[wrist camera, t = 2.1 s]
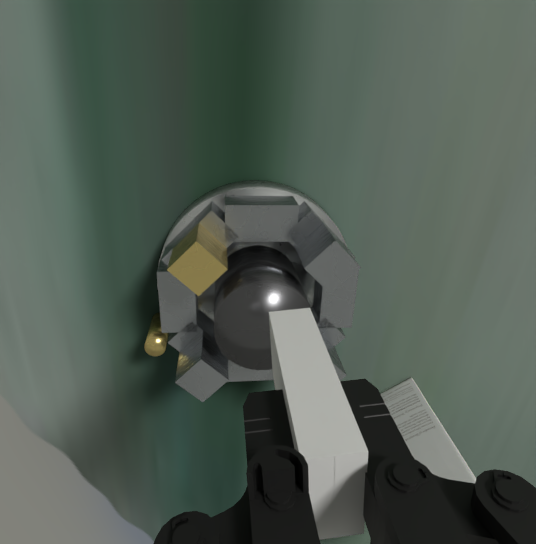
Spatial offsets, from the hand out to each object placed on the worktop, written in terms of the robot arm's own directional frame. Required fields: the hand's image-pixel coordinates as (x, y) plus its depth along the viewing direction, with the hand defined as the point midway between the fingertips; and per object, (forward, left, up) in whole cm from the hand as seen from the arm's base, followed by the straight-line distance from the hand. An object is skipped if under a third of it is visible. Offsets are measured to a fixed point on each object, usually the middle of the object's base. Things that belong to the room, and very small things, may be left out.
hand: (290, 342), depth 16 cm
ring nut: (+6, 0, -16) cm, 17 cm away
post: (+10, -8, -19) cm, 23 cm away
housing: (+6, 0, -19) cm, 20 cm away
